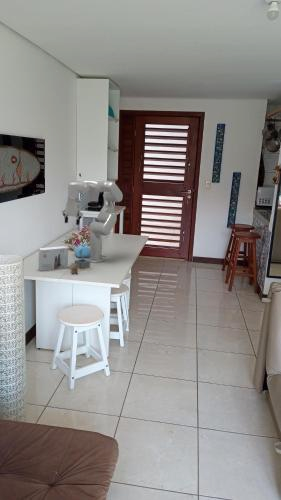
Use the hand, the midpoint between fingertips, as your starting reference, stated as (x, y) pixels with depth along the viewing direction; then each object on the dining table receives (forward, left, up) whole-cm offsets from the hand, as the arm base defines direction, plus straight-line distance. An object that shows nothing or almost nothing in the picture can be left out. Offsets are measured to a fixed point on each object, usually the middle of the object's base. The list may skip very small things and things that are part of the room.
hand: (71, 223), depth 275 cm
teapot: (-27, -20, -33) cm, 48 cm away
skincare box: (+12, -4, -33) cm, 36 cm away
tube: (-6, +6, -33) cm, 34 cm away
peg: (+7, +14, -33) cm, 36 cm away
